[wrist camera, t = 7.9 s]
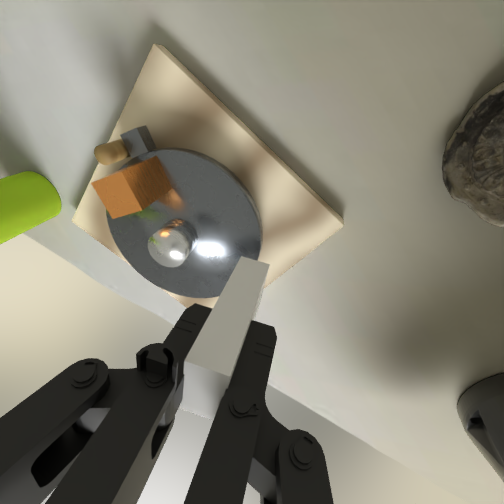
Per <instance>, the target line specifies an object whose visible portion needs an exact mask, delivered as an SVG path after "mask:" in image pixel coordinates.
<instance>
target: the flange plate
mask: <svg viewBox="0 0 504 504" xmlns="http://www.w3.org/2000/svg"><path fill="white" fill-rule="evenodd" d="M120 136H121V138H122V140H123V142H124V144H125V146H126V148H127V150H128V152H129V153H130V155H131V157H132V158H133V159H131V160H130V161H128V162H127V163H125V164H124V165H123V166H122V167H121V168H120V169H119V170H118V171H117V172H114V173H112V174H110V175H107V176H105V177H103V178H101V179H98V180H96V181H94V182H92V183H91V184H92V186H93V188H94V189H95V191H96V193H97V194H98V196H99V198H100V199H101V201H102V202H103V204H104V206H105V207H106V216H107V222H108V226H109V229H110V232H111V235H112V237H113V239H114V242H115V243H116V245H117V247H118V249H119V250H120V252H121V253H122V255H123V256H124V258H125V259H126V260H127V261H128V262H129V263H130V265H131V266H132V267H133V268H134V269H135V270H136V271H137V272H138V273H140V274H141V275H142V276H143V277H144V278H146V279H147V280H149V281H150V282H152V283H153V284H155V285H157V286H158V287H160V288H162V289H164V290H167V291H169V292H171V293H174V294H177V295H181V296H185V297H191V298H213V297H218V296H220V294H221V293H222V291H223V289H224V287H225V285H226V283H227V282H228V280H229V278H230V276H231V274H232V272H233V270H234V269H235V267H236V265H237V263H238V261H239V259H240V258H241V256H243V257H246V258H250V259H253V260H257V261H258V258H259V255H260V252H261V249H262V243H263V227H262V220H261V217H260V213H259V210H258V208H257V205H256V203H255V201H254V199H253V197H252V195H251V194H250V192H249V190H248V189H247V188H246V186H245V185H244V184H243V182H242V181H241V180H240V179H239V178H238V177H237V176H236V175H235V174H234V173H233V172H232V171H231V170H229V169H228V168H227V167H226V166H225V165H223V164H222V163H220V162H218V161H217V160H215V159H214V158H212V157H209V156H207V155H205V154H203V153H200V152H197V151H194V150H190V149H185V148H175V147H167V148H159V149H156V148H157V147H156V145H155V143H154V141H153V139H152V137H151V135H150V133H149V130H148V128H147V126H146V125H145V126H141V127H137V128H134V129H132V130H130V131H127V132H125V133H123V134H120ZM154 149H155V150H154ZM136 156H137V157H136ZM134 157H135V158H134Z"/></svg>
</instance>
